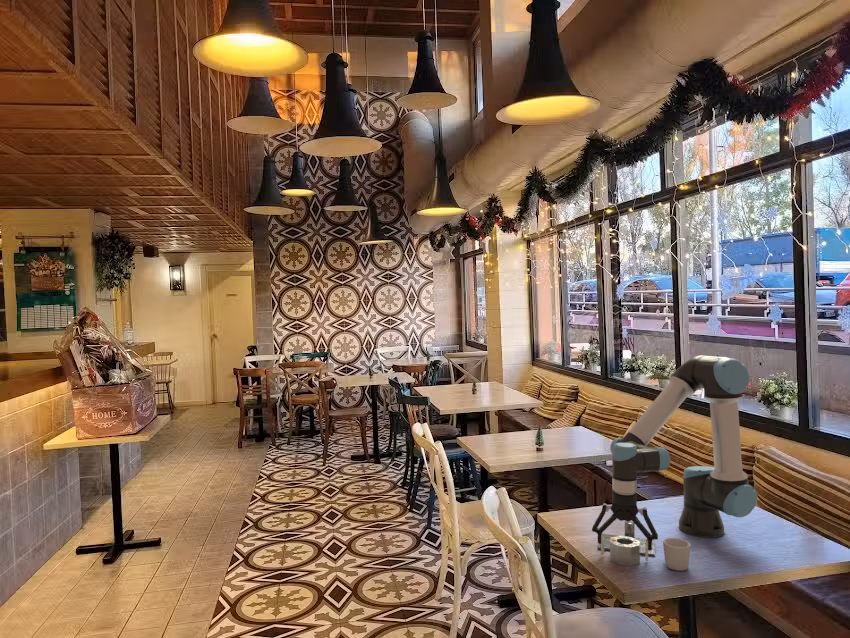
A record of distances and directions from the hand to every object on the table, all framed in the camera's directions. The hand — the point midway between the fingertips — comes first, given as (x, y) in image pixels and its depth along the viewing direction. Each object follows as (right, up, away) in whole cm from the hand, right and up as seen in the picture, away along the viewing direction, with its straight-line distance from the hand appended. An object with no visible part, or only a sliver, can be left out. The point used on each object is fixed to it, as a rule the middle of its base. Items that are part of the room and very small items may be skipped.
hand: (624, 556), depth 193 cm
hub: (0, -1, 0) cm, 1 cm away
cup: (+14, -1, -5) cm, 15 cm away
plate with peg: (+5, -1, +11) cm, 12 cm away
